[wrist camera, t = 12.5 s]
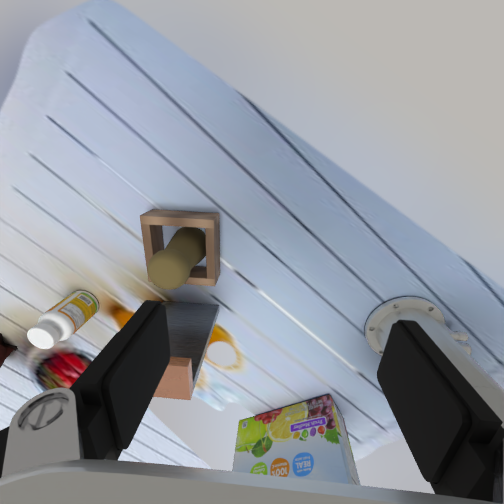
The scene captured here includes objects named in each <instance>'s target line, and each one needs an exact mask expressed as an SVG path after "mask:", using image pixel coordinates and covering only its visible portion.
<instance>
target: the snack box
mask: <svg viewBox="0 0 504 504" xmlns="http://www.w3.org/2000/svg"><path fill="white" fill-rule="evenodd" d="M232 471H233V472H243V473H252V474H261V475H270V476H280V477H289V478H298V479H307V480H316V481H325V482H335V483H344V484H352V485H360V481H359V478H358V474H357V469H356V466H355V462H354V458H353V454H352V450H351V446H350V442H349V438H348V434H347V430H346V426H345V422H344V418H343V417H342V416H341V414H340V412H339V410H338V408H337V407H336V405H335V403H334V401H333V400H332V398H331V396H330V395H325V396H322V397H319V398H315V399H312V400H308V401H305V402H302V403H298V404H295V405H291V406H288V407H285V408H281V409H277V410H274V411H270V412H267V413H264V414H260V415H257V416H253V417H250V418H246V419H243V420H240V421H239V427H238V433H237V441H236V448H235V455H234V462H233V470H232Z"/></svg>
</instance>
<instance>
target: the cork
mask: <svg viewBox="0 0 504 504" xmlns="http://www.w3.org/2000/svg"><path fill="white" fill-rule="evenodd" d="M205 256H206V234H205V233H204V232H203V231H202V230H200V229H199V228H196V227H182V228H180V229H179V230H177V232H176V233H175V234H174V236H173V237H172V239H171V241H170V242H169V244H168V245H167V247H166V248H165V250H161V251H159V252H157V253H156V254H154V255H153V256H152V258H151V259H150V261H149V263H148V267H147V269H148V275H149V277H150V280H151V281H152V282H153V283H154V284H155V285H156V286H158V287H160V288H162V289H168V290H172V289H177V288H179V287H180V286H182V285H184V283H185V282H186V281H187V280H188V278H189V275H190V271H191V269H192V268H193V267H194V266H195V265H197V264H198V263H199V262H200V261H201V260H202V259H203V258H204V257H205Z"/></svg>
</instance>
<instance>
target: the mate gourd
mask: <svg viewBox="0 0 504 504" xmlns="http://www.w3.org/2000/svg"><path fill="white" fill-rule="evenodd" d="M17 349H18V348H17V346H13V345H8V344H5V343H4V341H3V337H2V334H1V333H0V368H1V366H2V365H3V363H4V360H5V359H6V358H7V357H8V356H9V355H10V353H11V352H12V351H13V350H15V351H16V350H17Z"/></svg>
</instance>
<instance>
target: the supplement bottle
mask: <svg viewBox="0 0 504 504" xmlns="http://www.w3.org/2000/svg"><path fill="white" fill-rule="evenodd" d="M98 308H99V304H98V301H97V299H96V298H95V297H94V296H93V295H92V294H90V293H89V292H86V291H75V292H73V293H72V294H70V295H69V296H68V297H66V298H65V299H63V300H62V301H61V302H59V303H58V304H57V305H55V306H54V307H52V308H51V309H49V310H48V311H47V312H45V313H44V314H43V315H42V316H41V317H40V318H39V320H38V324H36V325H35V326H34V327H32V328H31V329H30V330H29V331H28V333H27V336H28V339H29V341H30V342H31V343H32V344H33V345H35V346H36V347H38V348H41V349H49V348H51V347H53V346H54V345H55V344H56V343H57V342H58V341H62V340H66V339H68V338H69V337H70V336H72V335H73V334H74V333H75V332H76V331H77V330H78V329H79V328H80V327H81V326H82V325H83V324H85V323H86V322H87V321H88V320H89V319H90V318H91V317H92V316H93V315H94V314H95V313H96V312H97V311H98Z"/></svg>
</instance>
